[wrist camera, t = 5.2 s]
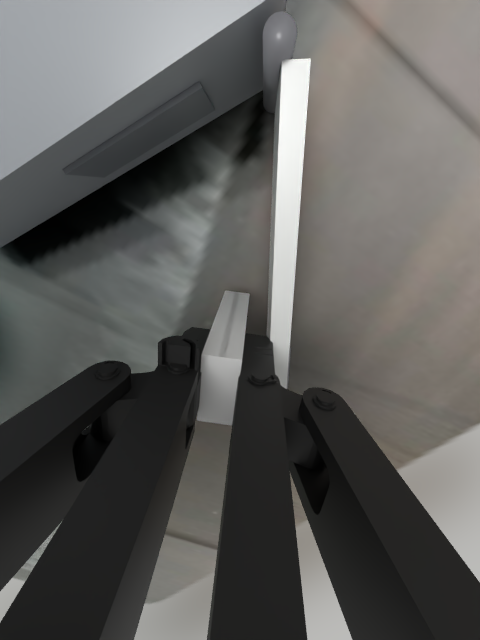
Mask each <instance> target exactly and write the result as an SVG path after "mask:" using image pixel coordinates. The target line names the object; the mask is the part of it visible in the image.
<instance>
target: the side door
mask: <svg viewBox="0 0 480 640" xmlns="http://www.w3.org/2000/svg"><path fill="white" fill-rule="evenodd" d="M296 38H297V26H296V23H295V20H294V19H293V17H292V16H291V15H290V14H288V13H287V12H283V11H280V12H276V13H274V14H273V15H271V16H270V17H269V18H268V20H267V21H266V23H265V26H264V29H263V106H264V108H265V110H266V111H267V112H269V113H275V120H274V148H273V175H272V203H271V231H270V258H269V286H268V313H267V337H268V338H269V339H270V341H272V343H273V353H274V366H275V374H276V375H277V376H278V378H279V380H280V385H281V386H282V387H284V388H285V389H288V382H289V368H290V355H291V346H290V336H291V322H292V309H293V295H294V281H295V268H296V254H297V240H298V227H299V213H300V199H301V186H302V172H303V158H304V145H305V131H306V117H307V104H308V90H309V76H310V63H311V59H292V56H293V52H294V47H295V43H296Z"/></svg>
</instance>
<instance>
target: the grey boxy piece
mask: <svg viewBox="0 0 480 640" xmlns="http://www.w3.org/2000/svg"><path fill="white" fill-rule="evenodd" d="M285 8H286V0H0V247H3V246H4V245H6V244H8V243H9V242H11V241H13V240H14V239H16V238H18V237H19V236H21V235H23V234H24V233H26V232H28V231H29V230H31V229H33V228H34V227H36V226H38V225H39V224H41V223H43V222H44V221H46V220H47V219H49V218H51V217H52V216H54V215H56V214H57V213H59V212H61V211H62V210H64V209H66V208H67V207H69V206H71V205H72V204H74V203H76V202H77V201H79V200H81V199H82V198H84V197H86V196H87V195H89V194H91V193H92V192H94V191H96V190H97V189H99V188H101V187H102V186H104V185H106V184H107V183H109V182H111V181H112V180H114V179H116V178H117V177H119V176H121V175H122V174H124V173H126V172H127V171H129V170H131V169H132V168H134V167H136V166H137V165H139V164H141V163H142V162H144V161H146V160H147V159H149V158H151V157H152V156H154V155H156V154H157V153H159V152H161V151H162V150H164V149H165V148H167V147H169V146H170V145H172V144H174V143H175V142H177V141H179V140H180V139H182V138H184V137H185V136H187V135H189V134H190V133H192V132H194V131H195V130H197V129H199V128H200V127H202V126H204V125H205V124H207V123H209V122H210V121H212V120H214V119H215V118H217V117H219V116H220V115H222V114H224V113H225V112H227V111H229V110H230V109H232V108H234V107H235V106H237V105H239V104H240V103H242V102H244V101H245V100H247V99H249V98H250V97H252V96H254V95H255V94H257V93H259V92H260V91H262V90H263V29H264V26H265V23H266V21H267V20H268V18H269V17H270V16H271V15H273V14H274V13H276V12H280V11H283V12H285Z"/></svg>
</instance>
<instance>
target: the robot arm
mask: <svg viewBox="0 0 480 640" xmlns="http://www.w3.org/2000/svg"><path fill="white" fill-rule="evenodd" d="M249 295H250V294H249V293H241V292H234V291H226V290H225V293H224V295H223V298H222V301H221V303H220V306H219V309H218V311H217V314H216V317H215V320H214V322H213V325H212V328H211V330H209V329H202V328H194V327H192V328H190V329H188V330H187V331H185V332H184V334H183V335H182V336H171V337H167V338H164V339H162V340H161V341H160V342H158V366H157V368H156V369H155V371H152V372H147V373H134V374H131V369H130V367H129V366H128V365H127V364H125V363H123V362H119V361H104V362H100V363H97V364H95V365H92V366H90V367H89V368H87V369H86V370H84V371H83V372H81V373H80V374H78V375H76V376H75V377H73V378H72V379H70V380H69V381H67V382H66V383H64V384H63V385H61V386H60V387H58V388H57V389H55V390H53V391H52V392H50V393H49V394H47V395H46V396H44V397H43V398H41V399H40V400H38V401H37V402H35V403H34V404H32V405H30V406H29V407H27V408H26V409H24V410H23V411H21V412H20V413H18V414H17V415H15V416H14V417H12V418H11V419H9V420H7V421H6V422H4V423H3V424H1V425H0V591H1V590H2V589H3V587H4V586H5V585H6V584H7V583H8V582H9V580H10V579H11V578H12V577H13V576H14V575H15V574H16V573H17V572H18V570H19V569H20V568H21V567H22V566H23V565H24V564H25V562H26V561H27V560H28V559H29V558H30V557H31V556H32V554H33V553H34V552H35V551H36V550H37V549H38V548H39V546H40V545H41V544H42V543H43V542H44V541H45V540H46V539H47V537H48V536H49V535H50V534H51V533H52V532H53V531H54V529H55V528H56V527H57V526H58V525H59V524H60V523H61V521H62V520H63V519H64V520H63V521H62V523H61V524H60V526H59V528H58V529H57V531H56V533H55V534H54V536H53V537H52V539H51V541H50V542H49V544H48V546H47V547H46V549H45V551H44V552H43V554H42V555H41V557H40V559H39V560H38V562H37V564H36V565H35V567H34V568H33V570H32V572H31V573H30V575H29V577H28V578H27V580H26V582H25V583H24V585H23V586H22V588H21V590H20V591H19V593H18V595H17V596H16V598H15V600H14V601H13V603H12V604H11V606H10V608H9V609H8V611H7V613H6V614H5V616H4V617H3V619H2V621H1V623H0V640H134V637H135V634H136V630H137V627H138V623H139V620H140V616H141V613H142V610H143V606H144V603H145V599H146V596H147V592H148V589H149V586H150V582H151V579H152V575H153V572H154V568H155V565H156V562H157V558H158V555H159V551H160V548H161V544H162V541H163V538H164V534H165V531H166V527H167V524H168V520H169V517H170V513H171V510H172V507H173V503H174V500H175V496H176V493H177V489H178V486H179V483H180V479H181V476H182V472H183V469H184V465H185V462H186V458H187V455H188V452H189V448H190V445H191V441H192V438H193V434H194V427H195V419H196V415H197V421H204V422H211V423H217V424H224V425H231V426H232V433H231V440H230V447H229V458H228V466H227V475H226V483H225V491H224V500H223V508H222V517H221V525H220V534H219V542H218V551H217V559H216V568H215V576H214V584H213V593H212V601H211V610H210V618H209V619H210V620H209V627H208V635H207V640H307V633H306V625H305V614H304V604H303V596H302V586H301V576H300V567H299V558H298V548H297V538H296V529H295V519H294V510H293V500H292V491H291V481H290V473H291V476H292V478H293V481H294V484H295V486H296V489H297V492H298V495H299V497H300V500H301V503H302V505H303V508H304V511H305V513H306V516H307V519H308V521H309V524H310V527H311V529H312V532H313V535H314V537H315V540H316V543H317V545H318V548H319V551H320V554H321V556H322V559H323V562H324V564H325V567H326V570H327V572H328V575H329V578H330V580H331V583H332V585H333V588H334V591H335V594H336V596H337V599H338V602H339V604H340V607H341V610H342V612H343V615H344V618H345V621H346V623H347V626H348V629H349V631H350V634H351V637H352V639H353V640H480V582H479V581H478V580H477V578H476V577H475V576H474V574H473V573H472V572H471V571H470V569H469V568H468V566H467V565H466V564H465V562H464V561H463V560H462V558H461V557H460V555H459V554H458V553H457V552H456V550H455V549H454V547H453V546H452V545H451V543H450V542H449V541H448V539H447V538H446V537H445V535H444V534H443V533H442V531H441V530H440V529H439V527H438V526H437V525H436V523H435V522H434V521H433V519H432V518H431V516H430V515H429V514H428V512H427V511H426V510H425V509H424V507H423V506H422V504H421V503H420V502H419V500H418V499H417V498H416V496H415V495H414V494H413V492H412V491H411V490H410V488H409V487H408V485H407V484H406V483H405V481H404V480H403V479H402V477H401V476H400V475H399V473H398V472H397V471H396V469H395V468H394V467H393V465H392V464H391V463H390V461H389V460H388V459H387V457H386V456H385V454H384V453H383V452H382V450H381V449H380V448H379V446H378V445H377V444H376V442H375V441H374V440H373V438H372V437H371V436H370V434H369V433H368V432H367V430H366V429H365V428H364V426H363V425H362V424H361V422H360V421H359V419H358V418H357V417H356V415H355V414H354V413H353V411H352V410H351V409H350V407H349V406H348V405H347V403H346V402H345V401H344V400H343V399H342V398H341V397H340V396H339V395H338V394H336V393H334V392H333V391H330V390H327V389H324V388H316V387H315V388H309V389H307V390H306V391H304V393H303V396H302V395H299V394H296V393H294V392H291V391H289V390H287V389H285V388H284V387H282V386H281V385H280V380H279V378H278V376H277V375H276V374H275V366H274V353H273V343H272V341H270V339H269V338H268V337H267V336H260V335H252V334H245V330H246V322H247V313H248V304H249ZM88 426H89V427H88ZM87 427H88V428H87ZM84 429H85V430H84ZM83 430H84V431H83ZM289 470H290V472H289Z"/></svg>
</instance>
